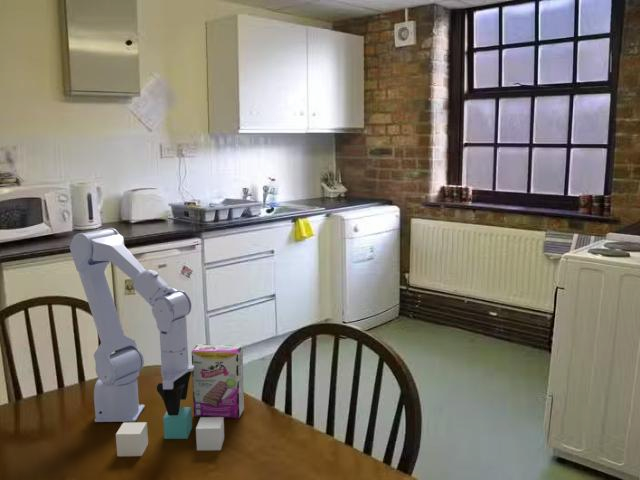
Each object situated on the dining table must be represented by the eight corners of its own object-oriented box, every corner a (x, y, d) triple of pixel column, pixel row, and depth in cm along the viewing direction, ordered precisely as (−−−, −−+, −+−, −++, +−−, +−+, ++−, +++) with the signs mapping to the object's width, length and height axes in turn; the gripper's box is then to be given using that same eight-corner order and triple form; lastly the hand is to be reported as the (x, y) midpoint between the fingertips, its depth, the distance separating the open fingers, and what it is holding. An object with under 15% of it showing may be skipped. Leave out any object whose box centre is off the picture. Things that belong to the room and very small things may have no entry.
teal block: (164, 439, 131) (163, 417, 130) (170, 427, 136) (168, 407, 135) (187, 438, 131) (186, 417, 130) (192, 427, 136) (191, 407, 135)
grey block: (196, 450, 126) (195, 428, 125) (201, 438, 131) (200, 417, 130) (220, 450, 126) (219, 428, 125) (224, 438, 131) (223, 417, 130)
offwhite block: (117, 456, 124) (115, 434, 123) (124, 444, 129) (123, 422, 128) (141, 456, 124) (140, 433, 123) (148, 443, 129) (146, 422, 128)
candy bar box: (193, 417, 140) (190, 351, 137) (199, 408, 145) (196, 343, 142) (240, 419, 139) (238, 352, 136) (245, 409, 144) (243, 344, 141)
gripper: (185, 360, 122) (188, 422, 125) (199, 336, 137) (201, 392, 139) (151, 360, 122) (154, 422, 125) (168, 336, 137) (171, 392, 139)
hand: (177, 406), depth 132 cm, fingers open, 7 cm apart
